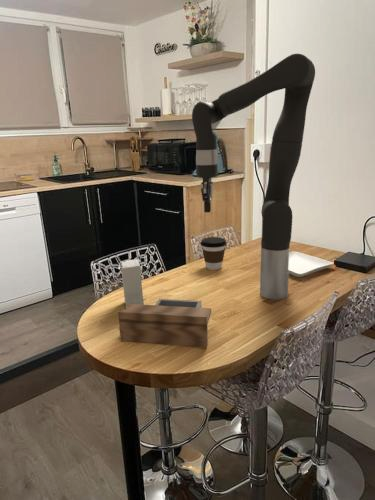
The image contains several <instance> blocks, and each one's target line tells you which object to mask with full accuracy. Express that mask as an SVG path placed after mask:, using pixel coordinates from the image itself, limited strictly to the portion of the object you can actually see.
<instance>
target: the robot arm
mask: <svg viewBox="0 0 375 500" xmlns="http://www.w3.org/2000/svg"><path fill="white" fill-rule="evenodd" d="M315 77H316V68H315V65H314V62H313V61H312V60H311V59H309V58H308V56H305V54H302V53H298V52H297V53H291V54H289V55H288V56H286V57H285V58H283V59H282V60H280V61H279V62H277V63H276V64H274V65H273V66H271V67H269V68H268V69H267V70H265V71H264V72H262V73H260V74H259V75H257V76H256V77H254V78H251V79H250V80H248V81H246V82H244V83H242V84H239V85H238V86H236V87H233V88H231V89H229V90H227V91H225V92H223V93H221V94H220V95H219V96H218V97H217V99H215V100H213V101H210V102H207V101H199V102H197V103H196V104H195V105H194V106H193V109H192V111H191V120H192V126H193V130H194V133H195V137H196V138H195V139H196V140H195V141H196V142H195V144H196V145H195V149H196V151H195V152H196V153H195V154H196V155H195V171H196V172H195V174H196V175H195V176H196V177H197V178H200V179H201V178H202V182H200V193H201V198H202V202H203V209H204V210H203V211H204V213H211V211H212V206H211V205H212V199H213V194H214V193H213V192H214V191H213V189H214V182H213V181H212V178H216V177H218V173H219V172H218V171H219V169H218V164H219V163H218V152H217V151H218V149H217V148H218V147H217V145H218V143H217V142H218V141H217V134H216V133H215V132H214V131H213V127H212V125H213V124H215V123H217V122H220V121H221V120H223V119H225V118H227V117H228V116H230V115H232V114H236V113H237V112H239V111H242V110H244V109H247V108H248V107H250V106H252V105H253V104H254V103H256V102H257V101H259V100H260V99H261V98H263V97H265V96H266V95H269V94H271V93H274V92H277V91H280V90H284V89H285V90H284V101H283V106H282V110H281V113H280V116H279V118H278V120H277V123H276V125H275V127H274V130H273V134H272V138H271V139H272V140H271V144H270V145H271V147H270V153H269V163H268V181H267V186H266V192H265V195H264V199H263V202H262V208H261V210H260V211H261V217H262V229H261V230H262V231H261V233H262V234H261V235H262V236H261V241H260V247H261V248H260V279H259V281H260V282H259V286H260V287H259V295H260V296H261V297H262V298H265V299H268V300H282V299H283V300H284V299H288V297H289V277H290V274H289V270H288V267H289V252H290V244H291V239H292V232H293V231H292V229H293V209H292V208H291V206H290V204H289V203H290V193H291V192H290V191H291V184H292V181H293V178H294V175H295V173H296V170H297V167H298V165H299V161H300V157H301V152H302V146H303V140H304V132H305V126H306V115H307V108H308V103H309V100H310V96H311V91H312V89H313V85H314V81H315Z"/></svg>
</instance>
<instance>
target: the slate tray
mask: <svg viewBox="0 0 375 500" xmlns="http://www.w3.org/2000/svg"><path fill="white" fill-rule="evenodd" d="M154 305H159V306H177V307H196V308H202V301H201V300H191V299H190V300H189V299H167V298H158V300H157V301H156V303H155V304H154Z"/></svg>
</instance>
